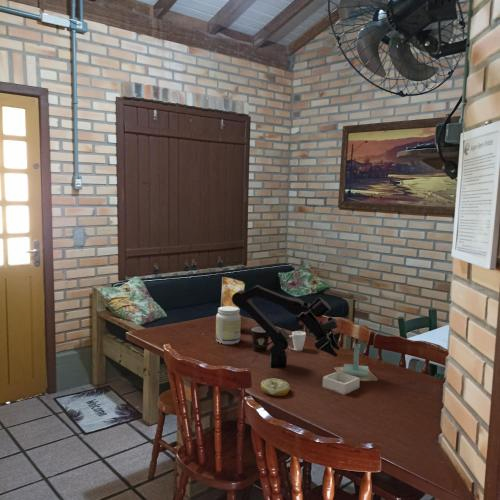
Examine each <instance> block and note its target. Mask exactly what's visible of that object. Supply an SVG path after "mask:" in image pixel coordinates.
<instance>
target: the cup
mask: <svg viewBox="0 0 500 500" xmlns="http://www.w3.org/2000/svg"><path fill="white" fill-rule="evenodd" d="M289 337H290V338H292V344H293V348H292V347H290V345H289V346H288V347H287V348H289V349H291V350H293V351H298V352H299V351H300V352H302V351H303V348H304V345H305V342H306V337H307V333H306V332H305V331H301V330H295V331H292V332H291V335H289Z"/></svg>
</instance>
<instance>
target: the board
mask: <svg viewBox="0 0 500 500" xmlns="http://www.w3.org/2000/svg"><path fill="white" fill-rule="evenodd" d="M343 367H344V366H339V367H338V366H336V367H335V366H334V370H335V372H337V371H340V372H343ZM355 377H356V376H355ZM358 378H360V382H377V381H378V380H379V379H378V378H377V377H376V376H375V375H374V374H373V373H372V371H370V369H369V368H368V376H365V378H364V377H358Z"/></svg>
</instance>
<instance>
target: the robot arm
mask: <svg viewBox="0 0 500 500" xmlns="http://www.w3.org/2000/svg"><path fill="white" fill-rule="evenodd" d="M255 297H259V298H262V299H264V300H266V301H269V302H271V303H274V304H276V305H279V306H280V307H283V308H284V309H285V310H286V311H287V312H289V313H291V314H293V315H294V316H295V315H296V316H295V324H298V323H299V322H301V323H302V324H303V325H304V326H305V327H306V329H307V330H308V333H309V334H311V335H312V336H313V337H314V339H315V342H314V347H315V348H316V349H317V350H319V351H322V352H324V353H327V354H329V355H330V356H333V357H338V353H337V351H338V350H340V346H339V344H338V343H337V341H336V339H335V337H334V336H335V335H334V330H335V329H338V326H339V324H338V322H337V319H336V318H334V317H332V316H329V317H327V320H326V321H322V320H318V318H321V317H323V316H324V315H326V314H327V313H328V312H329V311H330V310H331V309H332V308H331V305H329V303H328V302H327V301H326V300H325V299H323V298H321V296H318V297H317V299H315V300H314V301H313V302H312V303H309V302H306V301H305V302H304V300H302V299H301V298H297V297H292V296H285V295H283V294H280V293H277V292H275V291H273V290H270V289H268V288H265V287H263V286H261V285H257V284H256V285H255V286H253V287H251V288H248V289H246V290H245V289H244V290H240V291H238V292H236V293H235V294H234V295H233V296H232V302H233V304H235V305H236V306H237V307H239V308H240V310H242V311H244V312H246V313H247V314H248V315H249V316H250V317H251V318H252V319H253V321H254V322H255V323H257V325H258V326H259V327H262V328H263V330H264V331H265V332H266V333H267V334H268V335H269V336H270V337H269V338H270V340H271V341H270V342H272V343H271V344H272V345H271V346H270V348H269V355H270V356H269V366H270V368H275V369H276V368H283V369H284V368H285V369H286V368H287V366H286V365H287V362H288V358H287V357H288V356H287V352H286V350H287V349H288V348H289V347H290V344H291V341H292V340H291V337H289V336H290V333H288V332H287V331H286V330H285V328H283V327H282V328H281V329H279V328H277V327H276V326H275V325H274V324H273V323H272V322H271V321H270V320H269V319H268V318H267V316H266V315H265V314H264V313H262V312H261V310H259V308H258V307H257V306H256V305H255V304H254V302H253V300H252V299H253V298H255ZM288 346H289V347H288ZM336 350H337V351H336Z"/></svg>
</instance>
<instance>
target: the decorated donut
mask: <svg viewBox="0 0 500 500" xmlns="http://www.w3.org/2000/svg"><path fill="white" fill-rule="evenodd" d="M260 387H261V390H262V392H263V393H264V394H266V395H268V396H272V397H282V396H286V395H288V394H289V392H290V389H291V387H290V384H289V383H288V382H287V381H286V380H283V379H281V378H277V377H276V378H274V377H273V378H272V377H271V378H267V379H264V380H262V381H261V383H260Z"/></svg>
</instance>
